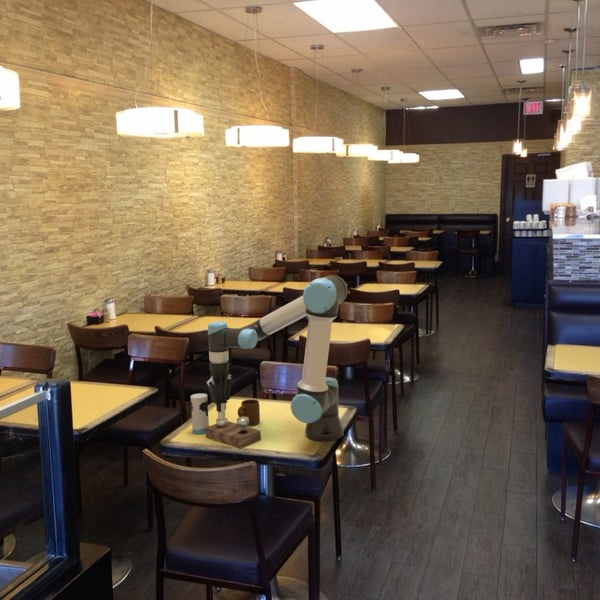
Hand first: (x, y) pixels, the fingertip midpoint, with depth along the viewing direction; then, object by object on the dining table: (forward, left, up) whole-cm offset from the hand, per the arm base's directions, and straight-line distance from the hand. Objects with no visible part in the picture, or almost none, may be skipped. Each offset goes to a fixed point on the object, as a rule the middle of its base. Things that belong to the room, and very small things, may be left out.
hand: (221, 418), depth 266 cm
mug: (+1, -15, -7) cm, 17 cm away
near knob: (-12, 0, -3) cm, 12 cm away
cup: (+11, +2, -7) cm, 13 cm away
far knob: (0, 0, -6) cm, 6 cm away
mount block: (-6, 0, -7) cm, 9 cm away
